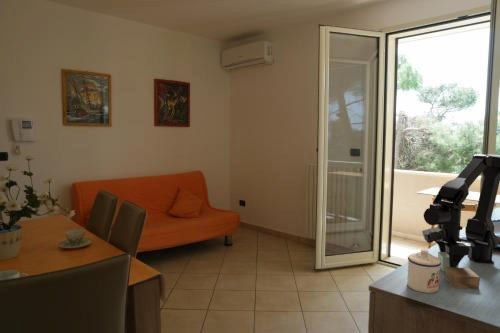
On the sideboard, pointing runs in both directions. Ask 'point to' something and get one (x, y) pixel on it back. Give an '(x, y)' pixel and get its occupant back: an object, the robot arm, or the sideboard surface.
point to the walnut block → (462, 277)
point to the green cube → (444, 260)
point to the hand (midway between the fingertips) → (447, 265)
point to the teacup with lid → (423, 272)
